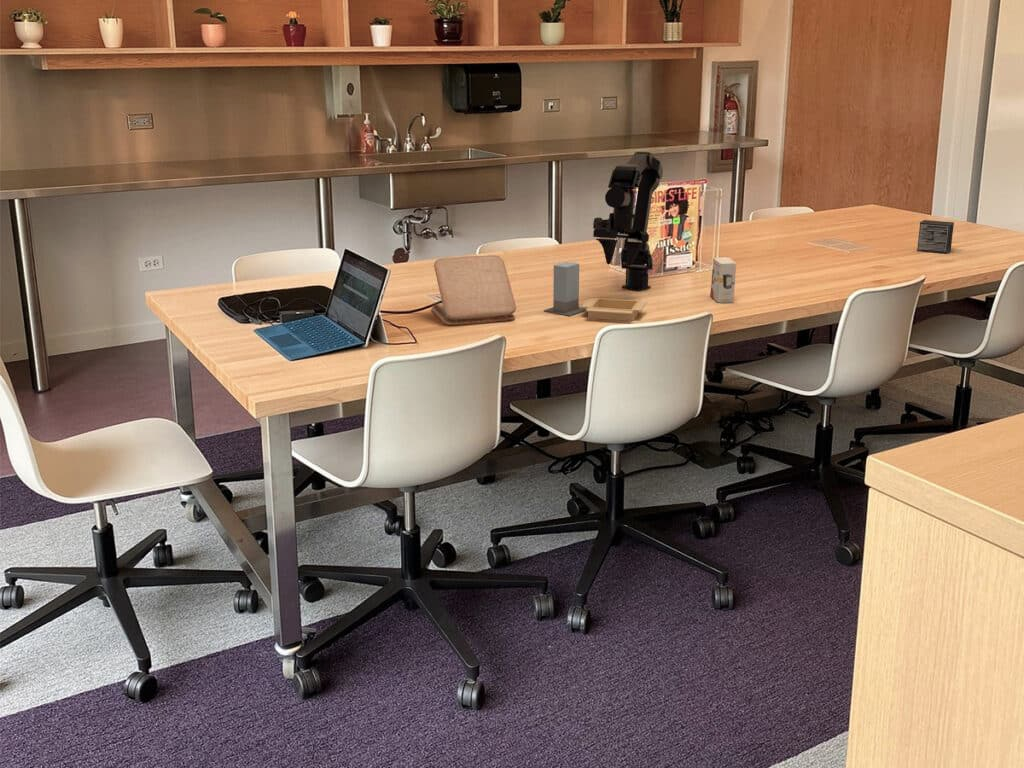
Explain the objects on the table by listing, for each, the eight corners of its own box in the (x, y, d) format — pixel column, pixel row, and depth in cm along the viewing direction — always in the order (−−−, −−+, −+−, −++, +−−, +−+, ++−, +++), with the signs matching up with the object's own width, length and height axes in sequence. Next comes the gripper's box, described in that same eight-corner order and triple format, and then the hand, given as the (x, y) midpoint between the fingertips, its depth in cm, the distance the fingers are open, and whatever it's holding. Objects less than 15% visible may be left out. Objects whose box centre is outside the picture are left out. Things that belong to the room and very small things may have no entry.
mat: (563, 305, 323) (563, 304, 323) (588, 310, 318) (588, 308, 317) (544, 311, 316) (544, 310, 316) (569, 316, 311) (569, 315, 311)
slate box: (565, 306, 320) (566, 261, 316) (578, 308, 318) (579, 263, 314) (553, 310, 316) (553, 265, 312) (566, 312, 313) (566, 267, 309)
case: (445, 328, 301) (444, 269, 296) (429, 309, 320) (428, 254, 315) (518, 322, 307) (518, 265, 302) (497, 304, 326) (497, 250, 321)
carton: (592, 304, 323) (592, 295, 322) (649, 308, 319) (649, 298, 318) (578, 319, 307) (578, 309, 306) (638, 324, 303) (638, 313, 302)
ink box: (709, 296, 333) (711, 257, 329) (726, 295, 333) (728, 256, 330) (717, 303, 325) (719, 263, 321) (734, 302, 325) (737, 262, 321)
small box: (951, 251, 395) (955, 221, 392) (947, 254, 390) (951, 224, 387) (920, 248, 401) (923, 219, 397) (916, 251, 395) (919, 221, 392)
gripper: (622, 212, 332) (618, 264, 334) (580, 207, 319) (576, 261, 321) (652, 213, 325) (647, 267, 326) (610, 207, 311) (606, 264, 313)
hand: (618, 264), depth 322 cm, fingers open, 9 cm apart
